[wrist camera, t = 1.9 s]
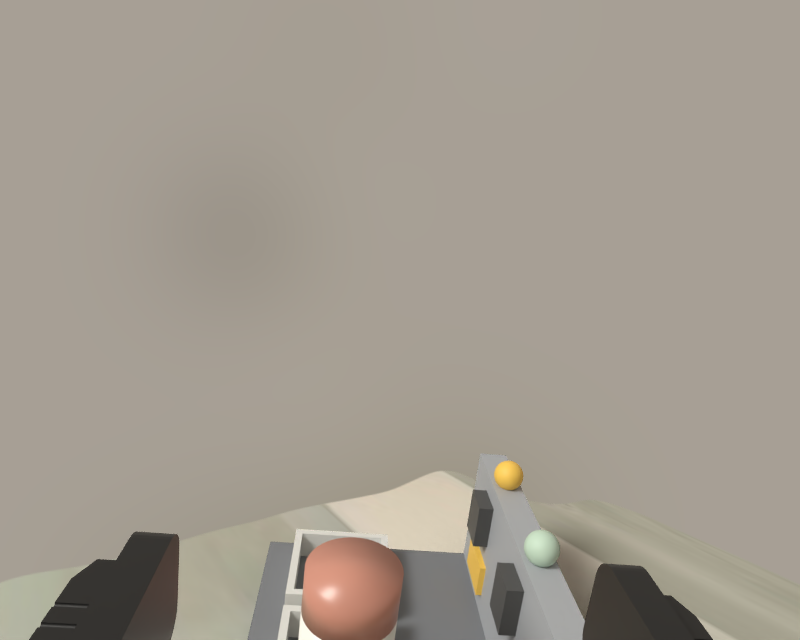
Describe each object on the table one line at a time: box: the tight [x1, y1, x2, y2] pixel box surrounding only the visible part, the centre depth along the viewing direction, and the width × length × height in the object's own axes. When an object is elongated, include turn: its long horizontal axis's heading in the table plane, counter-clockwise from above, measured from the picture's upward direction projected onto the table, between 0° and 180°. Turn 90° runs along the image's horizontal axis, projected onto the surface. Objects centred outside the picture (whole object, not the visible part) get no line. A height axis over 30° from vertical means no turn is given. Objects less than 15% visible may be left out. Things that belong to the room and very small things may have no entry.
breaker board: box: [248, 454, 585, 640], centre depth 35 cm, size 25×18×12 cm
